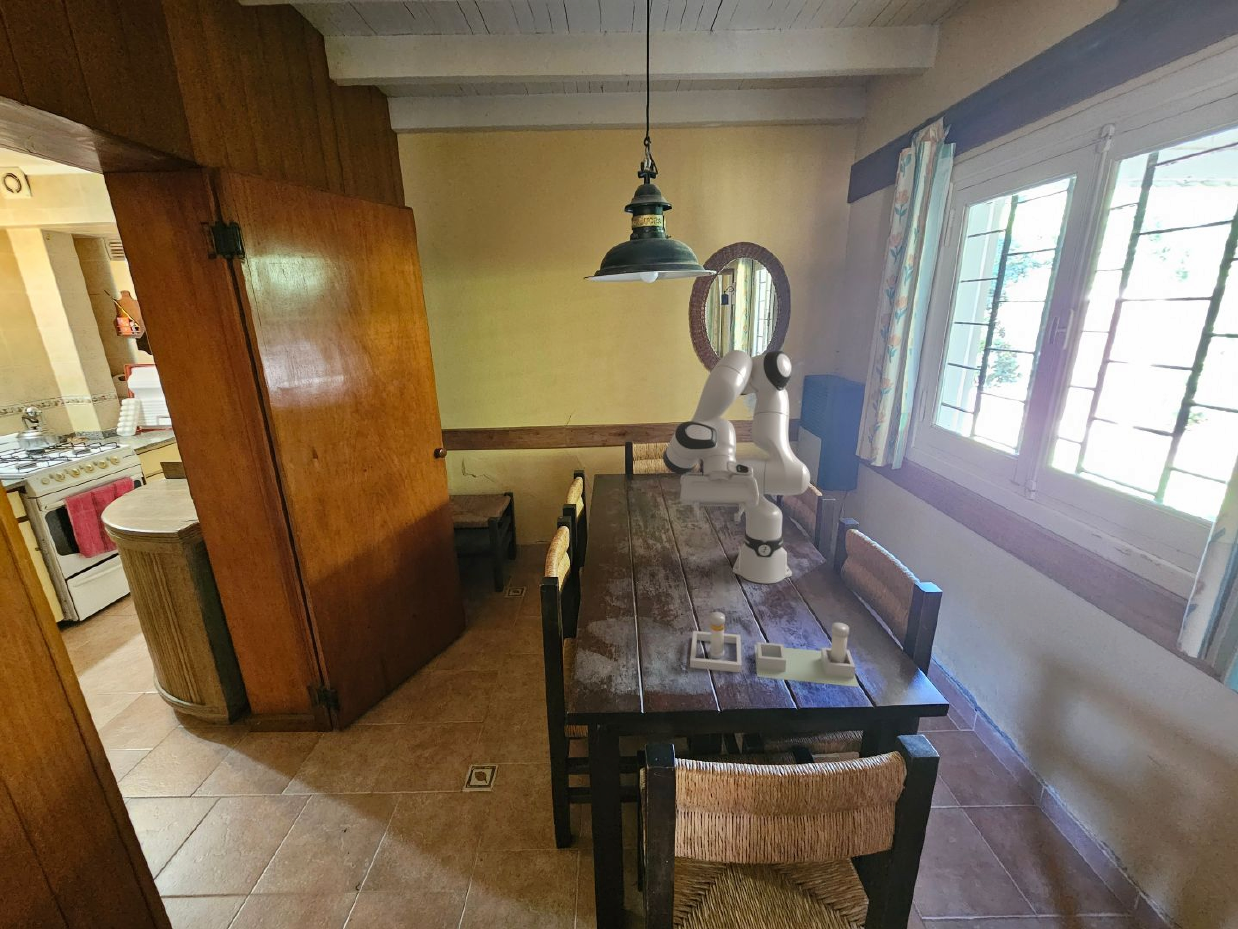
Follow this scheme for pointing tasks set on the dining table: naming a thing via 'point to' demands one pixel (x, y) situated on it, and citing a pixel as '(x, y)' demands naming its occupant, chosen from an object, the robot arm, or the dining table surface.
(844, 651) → the peg
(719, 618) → the orange-banded cylinder plug
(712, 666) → the parts tray
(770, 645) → the fuse board
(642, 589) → the dining table surface
